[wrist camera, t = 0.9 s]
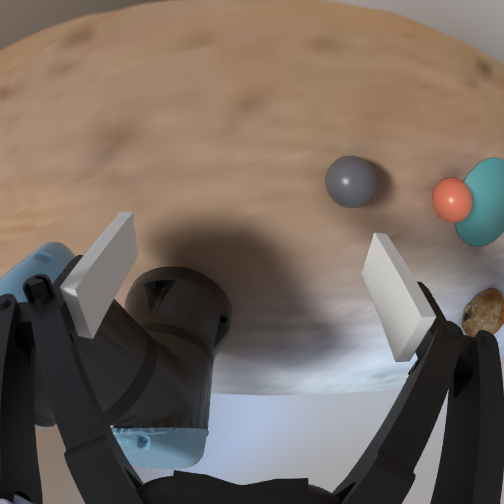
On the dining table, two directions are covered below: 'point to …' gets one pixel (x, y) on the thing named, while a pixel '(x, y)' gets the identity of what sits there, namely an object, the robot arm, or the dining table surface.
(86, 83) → the dining table surface
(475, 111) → the dining table surface
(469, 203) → the red ball
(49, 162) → the dining table surface
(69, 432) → the robot arm
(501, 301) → the bread roll
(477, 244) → the teal mark
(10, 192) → the dining table surface
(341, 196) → the gray ball
